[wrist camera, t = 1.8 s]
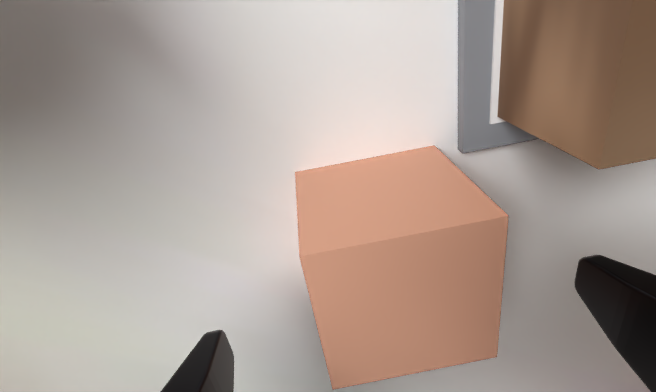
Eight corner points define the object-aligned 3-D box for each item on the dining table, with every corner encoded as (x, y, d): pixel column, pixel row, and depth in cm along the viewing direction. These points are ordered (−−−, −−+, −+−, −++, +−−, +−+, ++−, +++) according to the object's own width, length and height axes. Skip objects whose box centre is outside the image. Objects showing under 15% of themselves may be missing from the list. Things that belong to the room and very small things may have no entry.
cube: (436, 256, 14) (496, 356, 10) (319, 279, 14) (332, 389, 10) (433, 144, 12) (508, 215, 8) (295, 171, 12) (299, 256, 8)
